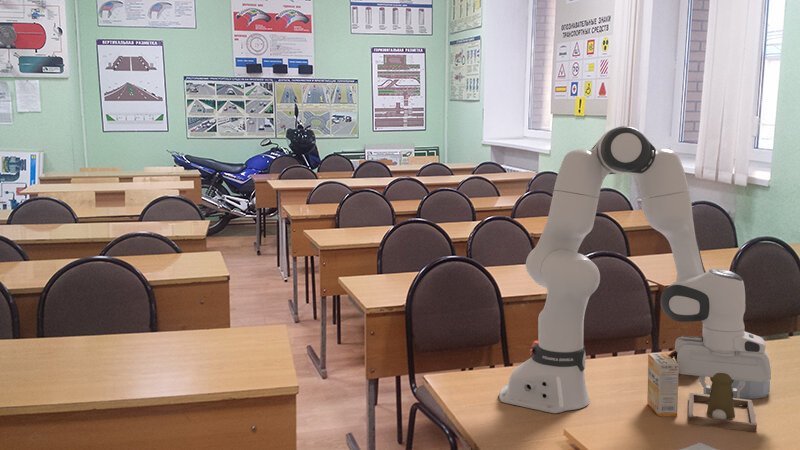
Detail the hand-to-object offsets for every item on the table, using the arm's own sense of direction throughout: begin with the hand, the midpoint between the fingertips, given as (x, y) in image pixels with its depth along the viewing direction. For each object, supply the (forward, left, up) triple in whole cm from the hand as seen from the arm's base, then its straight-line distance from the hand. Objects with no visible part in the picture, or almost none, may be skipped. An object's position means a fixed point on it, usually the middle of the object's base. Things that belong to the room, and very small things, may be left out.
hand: (721, 395), depth 159 cm
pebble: (0, -5, -5) cm, 7 cm away
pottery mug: (-9, +27, -5) cm, 29 cm away
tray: (0, 0, -5) cm, 5 cm away
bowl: (+5, +19, -5) cm, 20 cm away
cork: (0, 0, -5) cm, 5 cm away
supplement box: (-13, -2, -5) cm, 14 cm away
